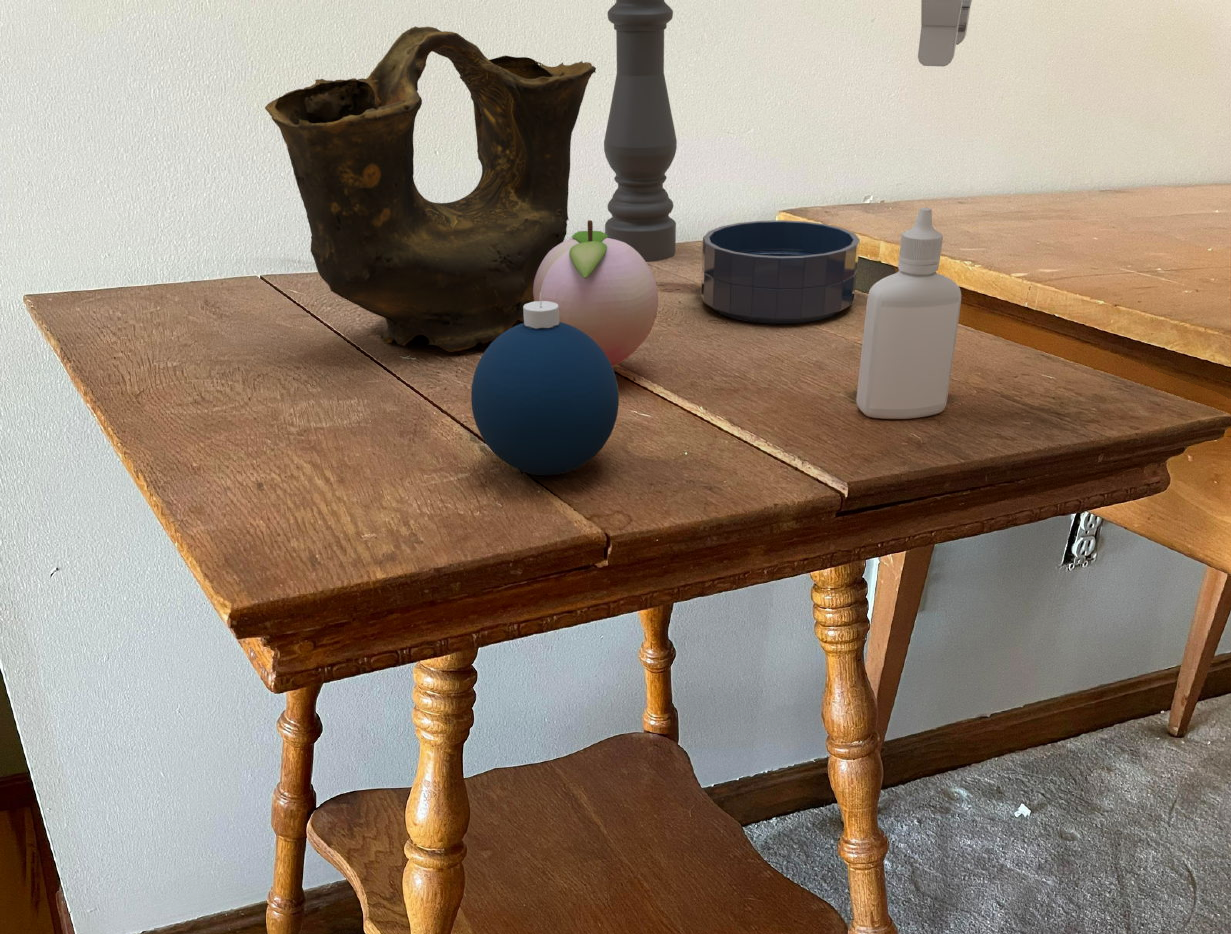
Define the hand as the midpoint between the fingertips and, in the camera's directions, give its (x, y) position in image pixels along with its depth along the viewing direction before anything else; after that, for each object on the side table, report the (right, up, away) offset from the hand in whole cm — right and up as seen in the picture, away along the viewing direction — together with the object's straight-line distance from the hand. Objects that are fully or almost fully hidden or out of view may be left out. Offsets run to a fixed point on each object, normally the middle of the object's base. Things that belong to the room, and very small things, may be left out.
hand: (942, 53), depth 70 cm
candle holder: (-16, +7, +42) cm, 46 cm away
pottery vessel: (-30, -5, +27) cm, 40 cm away
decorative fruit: (-19, -11, +18) cm, 29 cm away
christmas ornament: (-22, -22, +5) cm, 31 cm away
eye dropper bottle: (0, -16, +12) cm, 20 cm away
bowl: (-5, -1, +32) cm, 32 cm away
